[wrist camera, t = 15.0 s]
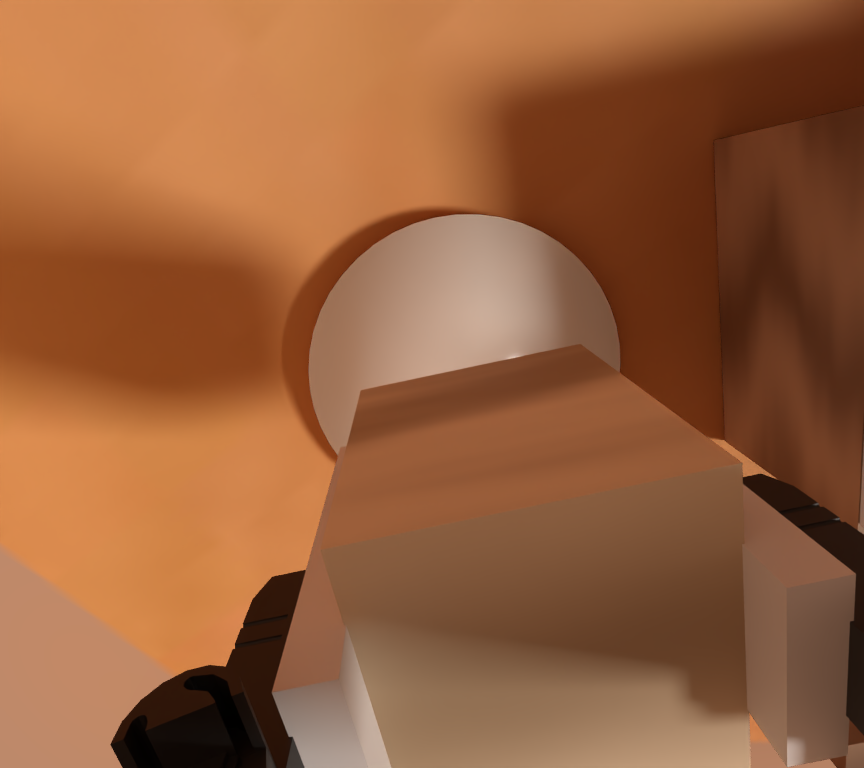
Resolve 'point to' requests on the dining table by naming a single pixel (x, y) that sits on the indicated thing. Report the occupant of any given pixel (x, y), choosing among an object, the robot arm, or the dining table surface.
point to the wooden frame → (796, 309)
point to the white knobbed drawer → (862, 496)
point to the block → (542, 571)
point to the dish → (450, 309)
